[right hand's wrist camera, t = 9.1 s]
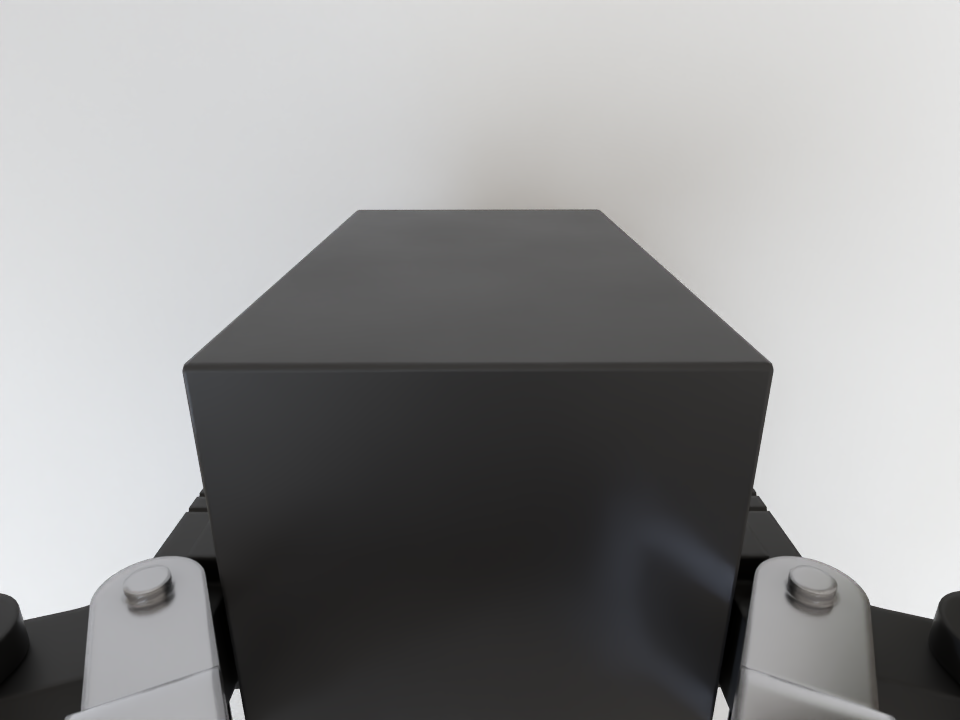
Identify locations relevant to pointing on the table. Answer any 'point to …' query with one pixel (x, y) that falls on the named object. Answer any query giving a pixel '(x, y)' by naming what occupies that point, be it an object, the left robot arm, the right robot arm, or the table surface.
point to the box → (478, 474)
